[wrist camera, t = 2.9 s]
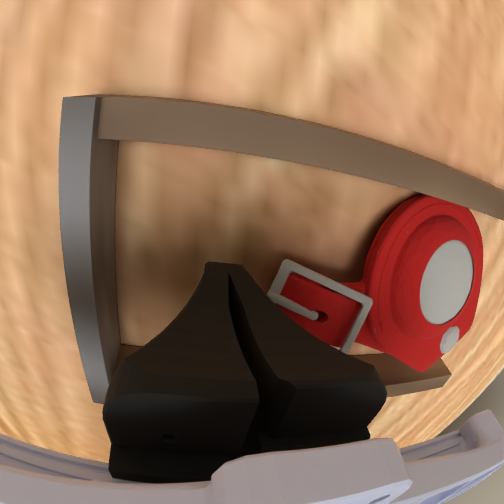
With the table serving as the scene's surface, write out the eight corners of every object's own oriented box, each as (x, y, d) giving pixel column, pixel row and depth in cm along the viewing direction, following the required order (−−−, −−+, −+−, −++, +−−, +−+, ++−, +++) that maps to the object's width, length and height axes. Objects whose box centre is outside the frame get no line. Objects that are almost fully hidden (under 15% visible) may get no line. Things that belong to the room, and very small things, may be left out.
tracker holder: (479, 157, 11) (505, 324, 14) (419, 161, 15) (457, 304, 18) (247, 308, 10) (343, 465, 12) (225, 274, 14) (310, 416, 16)
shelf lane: (426, 361, 19) (445, 392, 16) (104, 357, 15) (93, 402, 12) (509, 193, 13) (545, 214, 11) (98, 94, 9) (63, 97, 6)
